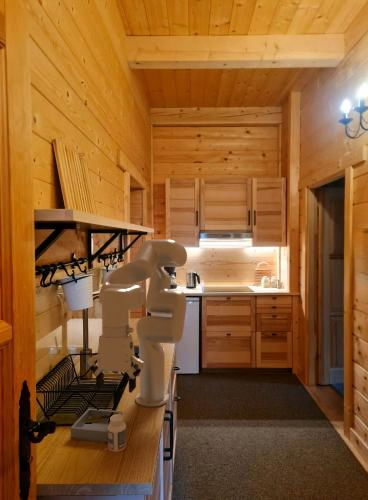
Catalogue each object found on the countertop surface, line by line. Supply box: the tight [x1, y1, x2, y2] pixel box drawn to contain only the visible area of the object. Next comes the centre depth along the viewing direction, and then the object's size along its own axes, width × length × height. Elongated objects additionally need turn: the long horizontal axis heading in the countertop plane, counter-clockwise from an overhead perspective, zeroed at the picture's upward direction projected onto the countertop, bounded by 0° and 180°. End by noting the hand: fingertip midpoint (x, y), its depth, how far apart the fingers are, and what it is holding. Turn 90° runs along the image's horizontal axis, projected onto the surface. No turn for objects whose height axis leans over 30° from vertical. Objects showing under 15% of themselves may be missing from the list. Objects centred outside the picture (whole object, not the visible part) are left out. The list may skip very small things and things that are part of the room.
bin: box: [70, 407, 123, 444], centre depth 109 cm, size 12×12×4 cm
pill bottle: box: [107, 414, 127, 453], centre depth 101 cm, size 5×5×9 cm
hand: (116, 389), depth 100 cm, fingers open, 9 cm apart
